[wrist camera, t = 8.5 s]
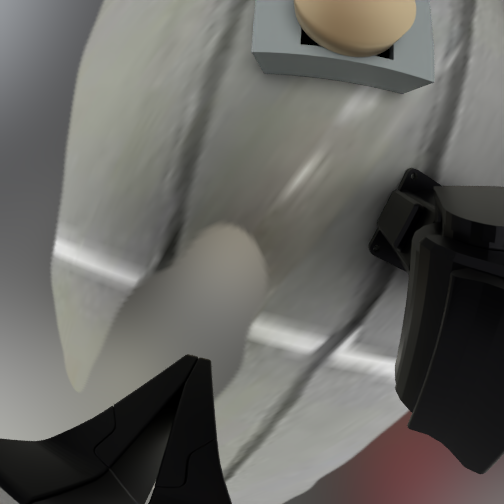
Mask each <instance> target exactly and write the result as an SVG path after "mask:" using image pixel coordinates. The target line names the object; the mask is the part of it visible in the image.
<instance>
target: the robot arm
mask: <svg viewBox="0 0 504 504" xmlns="http://www.w3.org/2000/svg"><path fill="white" fill-rule="evenodd" d="M412 173H415V175H416V176H415V178H414V179H411V174H412ZM377 226H378V229H377V231H376V233H375V235H374V236H373V238H372V240H371V242H370V244H369V250H370V252H371V254H373V255H374V256H376V257H378V258H380V259H382V260H384V261H386V262H388V263H390V264H392V265H394V266H396V267H398V268H400V269H402V270H404V271H406V272H407V273H408V274H409V283H408V292H407V300H406V307H405V314H404V321H403V327H402V333H401V338H400V344H399V349H398V354H397V359H396V363H395V381H396V387H395V390H396V392H397V394H398V396H399V398H400V400H401V401H402V402H403V403H404V405H405V406H406V407H407V408H408V409H409V410H410V411H411V412H412V415H411V418H410V420H409V423H408V428H409V429H411V430H415V431H418V432H421V433H424V434H427V435H429V436H431V437H433V438H434V439H436V440H438V441H440V442H441V443H442V444H444V445H445V446H446V447H447V448H448V449H449V450H450V451H451V452H452V453H453V455H454V456H455V457H456V458H457V459H458V460H459V461H460V462H461V464H462V465H463V466H464V467H466V468H467V469H470V470H472V471H474V472H476V473H478V474H484V473H486V472H487V471H488V470H489V469H490V468H491V467H492V466H493V465H494V464H495V463H496V462H497V461H498V459H500V457H501V456H502V455H503V454H504V187H498V186H441V185H440V184H438V183H437V182H435V181H434V180H432V179H431V178H429V177H428V176H426V175H425V174H423V173H422V172H420V171H419V170H417V169H414V168H410V169H408V170H407V171H406V173H405V175H404V178H403V180H402V182H401V184H400V186H399V188H398V190H395V191H393V192H392V194H391V196H390V198H389V200H388V202H387V204H386V206H385V208H384V210H383V212H382V214H381V216H380V218H379V220H378V222H377ZM376 245H379V248H378V249H377V250H373V248H374V246H376ZM155 481H156V483H155ZM154 483H155V488H154V490H153V493H152V496H151V499H150V502H149V503H148V504H232V502H231V499H230V496H229V493H228V490H227V487H226V483H225V480H224V477H223V473H222V469H221V464H220V458H219V452H218V442H217V433H216V421H215V409H214V396H213V382H212V366H211V360H209V359H205V358H198V357H197V356H193V355H189V354H188V355H185V356H184V357H182V358H181V359H179V360H178V361H177V362H175V363H174V364H173V365H171V366H170V367H169V368H167V369H165V370H164V371H163V372H161V373H160V374H158V375H157V376H155V377H154V378H153V379H151V380H150V381H148V382H147V383H145V384H144V385H143V386H141V387H140V388H138V389H137V390H135V391H134V392H132V393H131V394H129V395H128V396H126V397H125V398H123V399H122V400H120V401H119V402H117V403H116V404H114V407H113V406H111V407H110V408H108V409H107V410H105V411H104V412H102V413H100V414H99V415H97V416H95V417H94V418H92V419H90V420H88V421H86V422H84V423H82V424H80V425H78V426H76V427H74V428H72V429H70V430H67V431H65V432H63V433H61V434H58V435H56V436H54V437H51V438H49V439H46V440H41V441H21V440H9V439H0V504H145V502H146V500H147V498H148V495H149V494H150V492H151V490H152V487H153V485H154Z"/></svg>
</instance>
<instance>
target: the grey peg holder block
mask: <svg viewBox="0 0 504 504" xmlns="http://www.w3.org/2000/svg"><path fill="white" fill-rule="evenodd" d="M415 3H416V17H415V20H414V23H413V25H412V26H411V28H410V29H409V30H408V31H407V32H406V33H405V34H404V35H403V36H402V37H401V38H400V39H399V40H398V41H396V42H395V43H394V44H393V45H392V46H391V47H390V48H389V59H387V58H382V57H378V56H370V57H351V56H346V55H341V54H338V53H335V52H333V51H330V50H328V49H326V48H324V47H321V46H312V45H302V44H301V26H300V24H299V22H298V20H297V18H296V14H295V8H294V0H255V12H254V25H253V37H252V50H251V52H252V54H253V55H254V57H255V59H256V60H257V62H258V64H259V65H260V67H261V69H262V70H263V72H264V73H267V74H284V75H297V76H307V77H316V78H324V79H331V80H338V81H344V82H350V83H356V84H361V85H366V86H371V87H376V88H380V89H385V90H389V91H393V92H397V93H401V94H404V93H406V92H409V91H412V90H414V89H417V88H420V87H422V86H425V85H428V84H431V83H434V42H433V28H432V18H431V9H430V1H429V0H415Z"/></svg>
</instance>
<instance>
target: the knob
mask: <svg viewBox="0 0 504 504" xmlns="http://www.w3.org/2000/svg"><path fill="white" fill-rule="evenodd" d="M294 8H295V14H296V18H297V20H298V22H299V24H300V26H301V28H302V29H303V30H304V32H305V33H306V34H307V35H308V36H309V37H310V38H311V39H312V40H314V41H315V42H316V43H318V45H319V46H321V47H324V48H326V49H328V50H330V51H333V52H335V53H338V54H341V55H346V56H351V57H370V56H374V55H377V54H380V53H382V52H384V51H386V50H387V49H389V48H390V47H391V46H392V45H393V44H394V43H395V42H396V41H398V40H399V39H400V38H401V37H402V36H403V35H404V34H405V33H406V32H407V31H408V30H409V29H410V28H411V26H412V25H413V23H414V20H415V17H416V3H415V0H294Z"/></svg>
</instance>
